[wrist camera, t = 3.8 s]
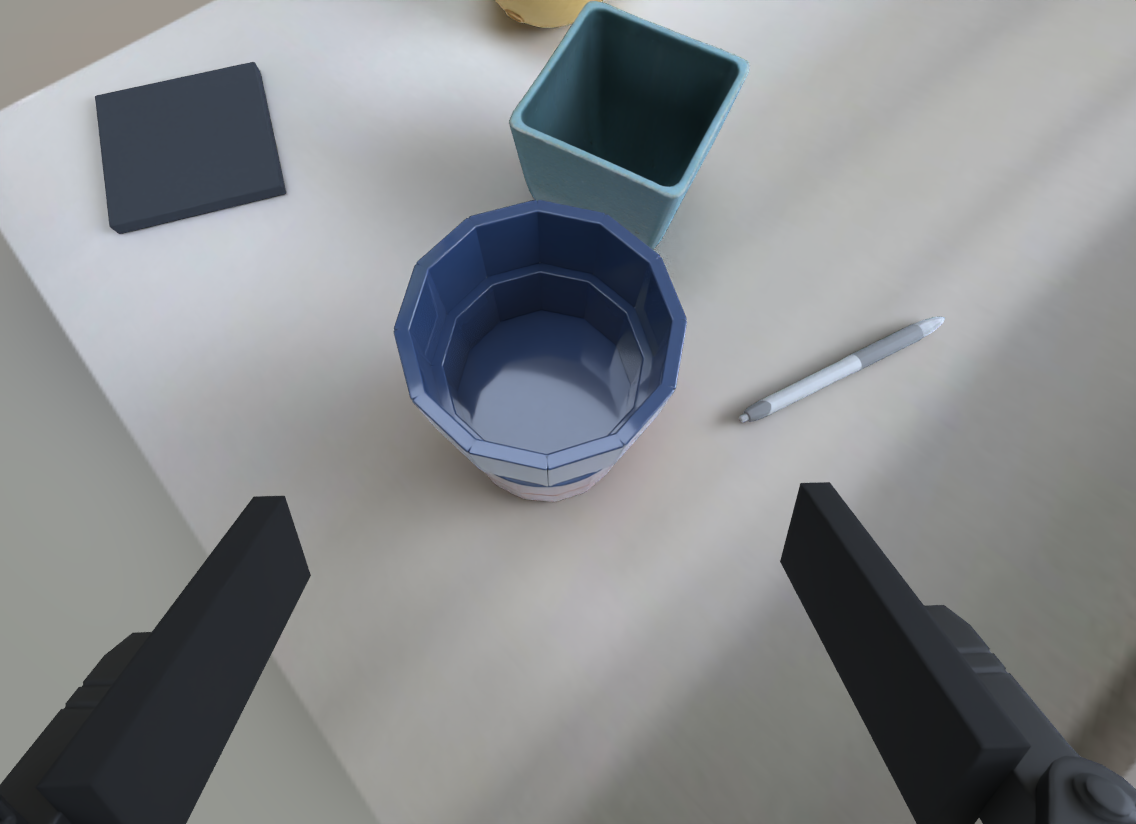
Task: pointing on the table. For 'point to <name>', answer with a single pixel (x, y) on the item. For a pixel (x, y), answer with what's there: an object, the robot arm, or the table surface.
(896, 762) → the robot arm
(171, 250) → the table surface
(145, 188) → the mat
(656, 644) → the table surface
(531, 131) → the flower pot
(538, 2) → the stress ball
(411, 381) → the top bowl
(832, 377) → the pen
